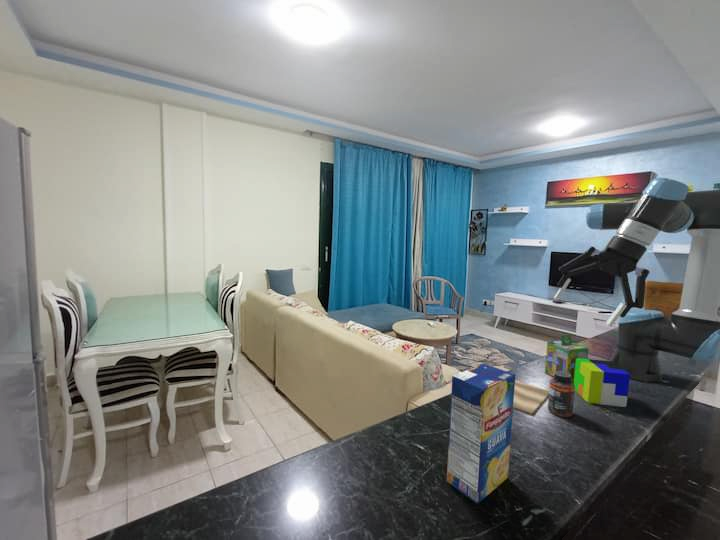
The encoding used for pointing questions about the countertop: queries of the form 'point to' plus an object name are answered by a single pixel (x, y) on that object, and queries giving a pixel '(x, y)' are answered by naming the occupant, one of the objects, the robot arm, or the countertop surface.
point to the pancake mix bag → (663, 297)
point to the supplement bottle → (561, 394)
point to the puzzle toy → (601, 382)
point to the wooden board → (528, 397)
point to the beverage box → (480, 430)
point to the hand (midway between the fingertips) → (581, 311)
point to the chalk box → (564, 356)
